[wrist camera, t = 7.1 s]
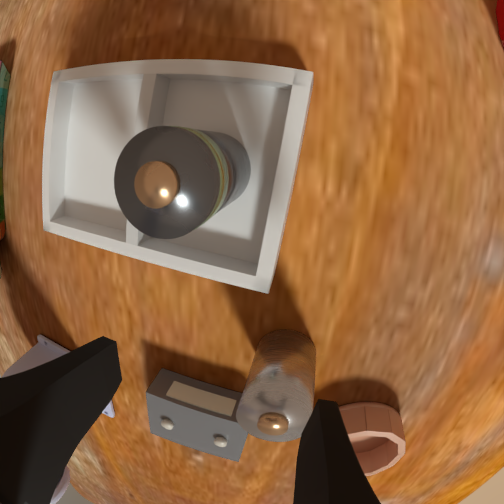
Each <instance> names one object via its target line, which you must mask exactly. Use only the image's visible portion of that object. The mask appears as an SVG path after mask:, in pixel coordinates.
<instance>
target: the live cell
mask: <svg viewBox="0 0 504 504" xmlns="http://www.w3.org/2000/svg"><path fill="white" fill-rule="evenodd" d="M250 175H251V164H250V159H249V156H248V154H247V152H246V150H245V148H244V147H243V146H242V144H241V143H240V142H239V141H237V140H236V139H235V138H233V137H232V136H230V135H227V134H224V133H220V132H213V131H205V130H198V129H192V128H187V127H179V126H156V127H151V128H148V129H146V130H143V131H142V132H140V133H138V134H137V135H135V136H134V137H133V138H132V139H131V140H130V141H129V142H128V143H127V144H126V145H125V147H124V148H123V150H122V152H121V153H120V156H119V158H118V160H117V164H116V167H115V172H114V189H115V195H116V199H117V202H118V204H119V207H120V209H121V211H122V213H123V214H124V216H125V217H126V219H127V220H128V221H129V222H130V223H131V224H132V225H133V226H134V227H135V228H136V229H138V230H139V231H140V232H142V233H144V234H146V235H148V236H151V237H154V238H158V239H174V238H178V237H181V236H184V235H186V234H188V233H190V232H191V231H193V230H195V229H197V228H198V227H199V226H201V225H202V224H204V223H205V222H206V221H208V220H209V219H210V218H212V217H213V216H214V215H215V214H216V213H218V212H219V211H220V210H222V209H223V208H225V207H226V206H227V205H229V204H230V203H232V202H233V201H235V200H236V199H237V198H238V197H240V196H241V194H242V193H243V192H244V191H245V189H246V187H247V185H248V183H249V180H250Z"/></svg>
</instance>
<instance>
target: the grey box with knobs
mask: <svg viewBox="0 0 504 504" xmlns="http://www.w3.org/2000/svg"><path fill="white" fill-rule="evenodd" d="M242 394H243V393H240V392H236V391H232V390H229V389H225V388H222V387H218V386H215V385H212V384H208V383H205V382H202V381H199V380H196V379H192V378H189V377H186V376H183V375H181V374H178V373H175V372H172V371H169V370H166V369H164V368H162V369H161V370H160V372H159V373H158V375H157V376H156V378H155V379H154V381H153V382H152V384H151V385H150V387H149V388H148V389H147V391H146V399H147V408H148V416H149V424H150V431H151V433H152V434H155V435H157V436H160V437H162V438H165V439H168V440H170V441H173V442H176V443H178V444H181V445H184V446H187V447H190V448H193V449H196V450H199V451H202V452H205V453H209V454H212V455H215V456H219V457H222V458H226V459H230V460H233V461H237V462H239V459H240V456H241V453H242V450H243V447H244V444H245V441H246V438H247V435H248V433H247V432H246V431H245V430H244V429H243V428H242V427H241V426H240V425H239V423H238V422H237V419H236V412H237V409H238V406H239V403H240V400H241V397H242Z"/></svg>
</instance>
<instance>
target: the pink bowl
mask: <svg viewBox="0 0 504 504" xmlns="http://www.w3.org/2000/svg"><path fill="white" fill-rule="evenodd" d="M339 410H340V413H341V416H342V419H343V422H344V425H345V428H346V430H347V433H348V436H349V439H350V441H351V444H352V446H353V449H354V451H355V454H356V456H357V459H358V461H359V463H360V465H361V468H362V470H363V472H364V474H365V476H370V475H374V474H376V473H379V472H381V471H383V470H385V469H387V468H390V467H392V466H393V465H394V464H395V463H396V462H397V461H398V460H399V459H400V458H401V457H402V456H403V455H404V454H405V436H404V431H403V425H402V420H401V417H400V415H399V413H398V412H397V411H396V410H395V409H394V408H393V407H391V406H389V405H386V404H383V403H378V402H357V403H351V404H346V405H343V406H340V407H339Z"/></svg>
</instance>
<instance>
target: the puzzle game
mask: <svg viewBox="0 0 504 504" xmlns="http://www.w3.org/2000/svg"><path fill="white" fill-rule="evenodd" d="M9 82H10V74H9V72H8V71H7V69H6V67H5V65H4V64H3V62H2V60H0V240H1V239H2V238H3V237H4V234H5V230H6V225H5V214H4V201H3V135H4V121H5V111H6V102H7V95H8V88H9ZM1 273H2V267H1V262H0V278H1Z"/></svg>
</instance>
